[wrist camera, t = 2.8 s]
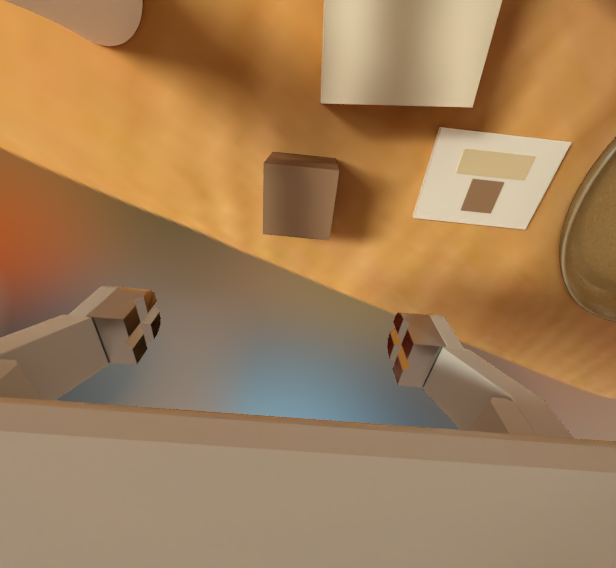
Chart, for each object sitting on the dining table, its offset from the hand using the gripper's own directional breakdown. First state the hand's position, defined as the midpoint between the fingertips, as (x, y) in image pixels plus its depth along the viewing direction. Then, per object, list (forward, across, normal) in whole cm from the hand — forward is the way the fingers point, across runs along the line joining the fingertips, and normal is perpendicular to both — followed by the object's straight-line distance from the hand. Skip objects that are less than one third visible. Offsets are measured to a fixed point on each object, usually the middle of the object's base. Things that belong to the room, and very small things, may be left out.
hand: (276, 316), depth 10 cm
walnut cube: (+18, 0, 0) cm, 18 cm away
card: (+17, -15, -2) cm, 23 cm away
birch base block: (+18, -5, -11) cm, 21 cm away
